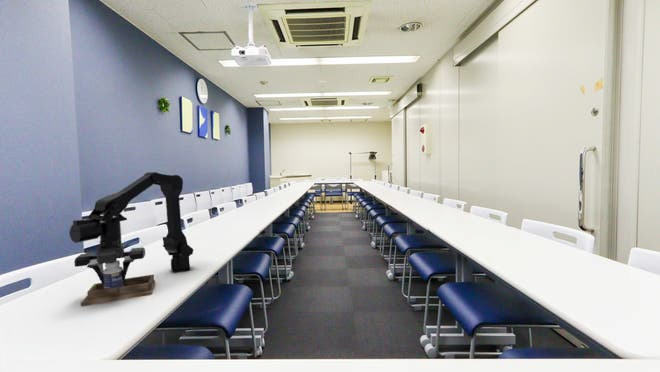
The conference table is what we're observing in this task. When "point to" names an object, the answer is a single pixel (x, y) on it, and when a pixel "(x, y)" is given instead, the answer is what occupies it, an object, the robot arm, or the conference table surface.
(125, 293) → the keyhole track
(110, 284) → the pill bottle
